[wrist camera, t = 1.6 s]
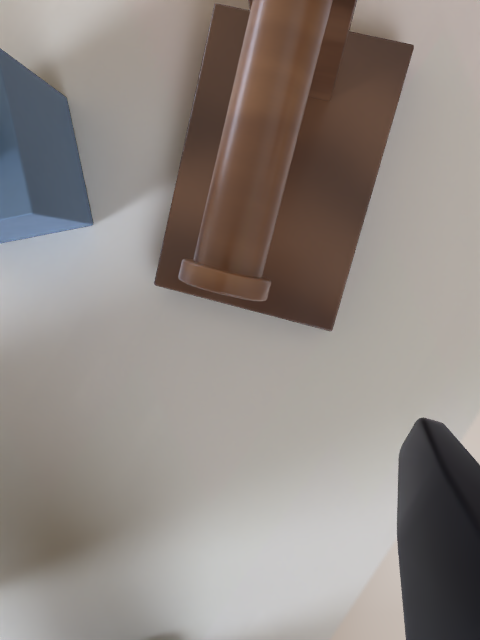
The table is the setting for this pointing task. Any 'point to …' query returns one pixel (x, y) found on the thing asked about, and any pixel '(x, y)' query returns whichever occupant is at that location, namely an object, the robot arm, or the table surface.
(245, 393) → the table surface
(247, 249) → the stand
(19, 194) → the blue block
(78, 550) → the table surface
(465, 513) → the robot arm
